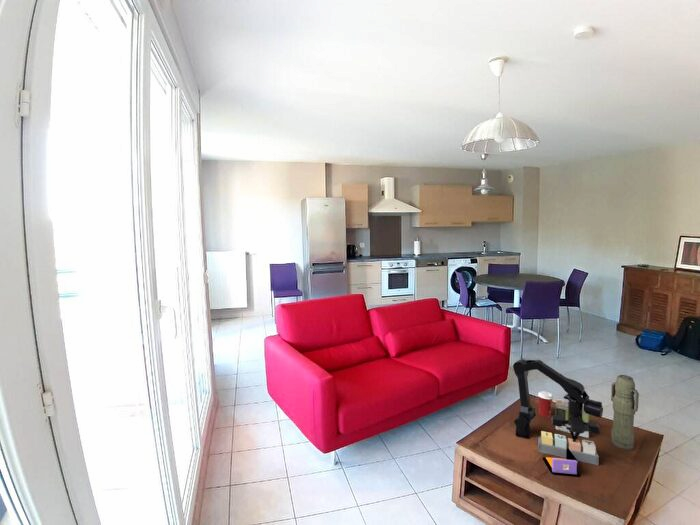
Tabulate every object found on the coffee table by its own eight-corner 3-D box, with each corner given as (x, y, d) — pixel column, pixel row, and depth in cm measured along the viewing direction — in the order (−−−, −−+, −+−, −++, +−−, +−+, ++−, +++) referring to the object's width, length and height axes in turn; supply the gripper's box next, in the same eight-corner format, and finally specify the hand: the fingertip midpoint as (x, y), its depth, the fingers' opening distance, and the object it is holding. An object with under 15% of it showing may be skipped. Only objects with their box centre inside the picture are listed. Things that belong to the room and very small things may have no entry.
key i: (541, 444, 169) (541, 435, 168) (540, 439, 173) (541, 430, 172) (552, 446, 167) (552, 437, 166) (551, 441, 171) (551, 432, 170)
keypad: (538, 451, 168) (539, 443, 168) (538, 443, 174) (538, 436, 174) (598, 465, 158) (598, 456, 158) (595, 456, 164) (595, 448, 164)
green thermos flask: (614, 436, 180) (617, 371, 177) (640, 448, 169) (644, 379, 167) (603, 440, 177) (606, 373, 174) (630, 453, 166) (633, 383, 163)
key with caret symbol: (555, 447, 166) (555, 438, 166) (554, 442, 170) (554, 433, 170) (566, 449, 164) (566, 440, 164) (565, 444, 168) (565, 435, 168)
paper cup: (554, 421, 195) (555, 397, 194) (539, 420, 197) (540, 396, 196) (549, 414, 203) (550, 391, 202) (535, 413, 204) (536, 390, 203)
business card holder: (581, 478, 150) (582, 463, 150) (551, 475, 152) (552, 460, 152) (569, 460, 162) (569, 446, 161) (541, 458, 164) (542, 444, 163)
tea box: (587, 429, 187) (588, 403, 186) (588, 438, 178) (589, 411, 177) (555, 421, 195) (556, 396, 194) (554, 430, 186) (555, 404, 185)
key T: (583, 453, 161) (583, 444, 161) (581, 447, 165) (582, 438, 165) (595, 456, 159) (595, 446, 159) (593, 450, 163) (593, 441, 163)
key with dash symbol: (568, 451, 164) (569, 442, 163) (567, 446, 168) (567, 437, 167) (580, 454, 162) (580, 445, 161) (578, 448, 166) (579, 439, 165)
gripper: (554, 413, 160) (553, 445, 161) (603, 422, 152) (601, 456, 153) (551, 402, 170) (550, 433, 171) (597, 410, 162) (596, 442, 163)
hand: (574, 441), depth 164 cm, fingers closed, pressing on key with dash symbol
